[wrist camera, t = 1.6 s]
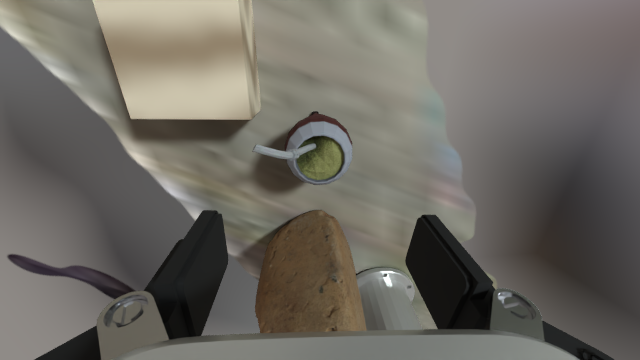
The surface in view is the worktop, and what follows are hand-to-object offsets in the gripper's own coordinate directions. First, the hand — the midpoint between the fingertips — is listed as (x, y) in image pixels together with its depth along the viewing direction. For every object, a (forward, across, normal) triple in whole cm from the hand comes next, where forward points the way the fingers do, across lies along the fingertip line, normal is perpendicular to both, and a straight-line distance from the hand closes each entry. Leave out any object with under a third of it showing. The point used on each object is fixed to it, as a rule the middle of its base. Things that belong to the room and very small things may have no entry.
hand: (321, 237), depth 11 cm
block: (+20, 0, +16) cm, 25 cm away
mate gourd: (+20, 0, +1) cm, 20 cm away
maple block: (+20, +12, -7) cm, 25 cm away
